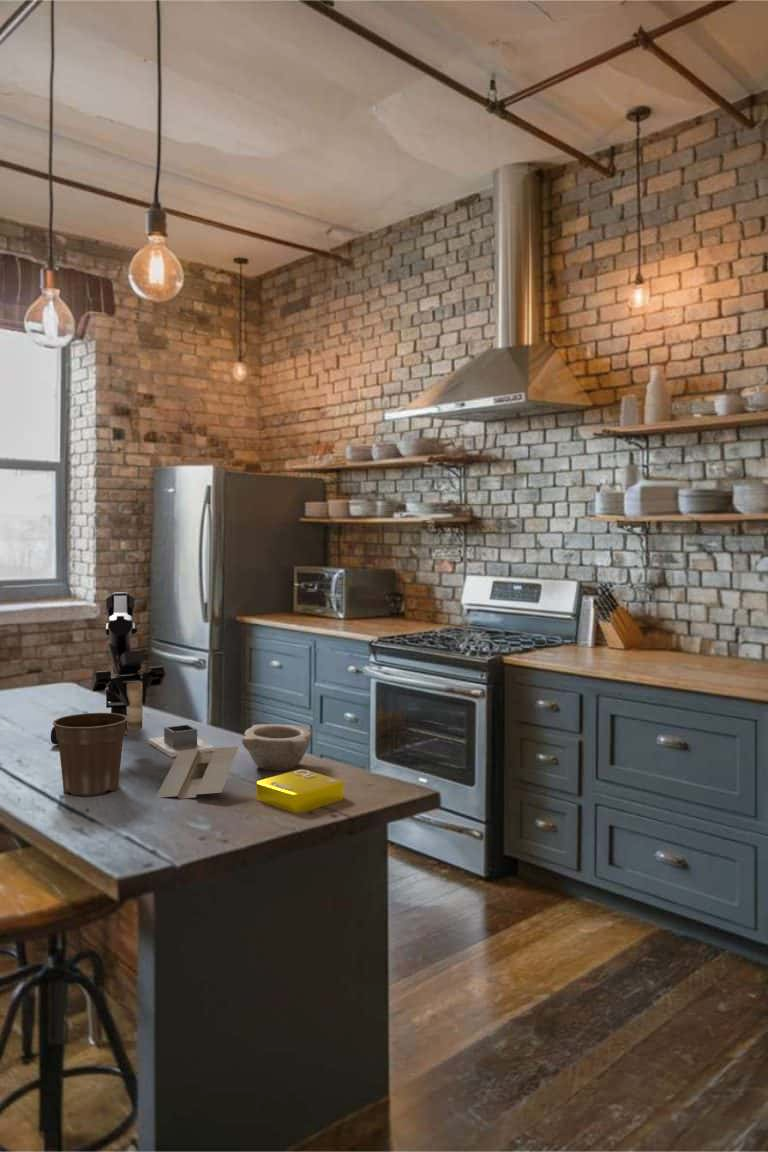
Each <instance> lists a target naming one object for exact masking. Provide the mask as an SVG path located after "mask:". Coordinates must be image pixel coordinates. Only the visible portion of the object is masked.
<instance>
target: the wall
mask: <svg viewBox="0 0 768 1152" xmlns="http://www.w3.org/2000/svg"><path fill="white" fill-rule="evenodd" d="M238 750H239V746H226V747H216V748H215V747H214V752H207V753H200V751H199V749H198V750H185V751H180V752H179V755H178V756H177V757H175V759H174V761H173V763H172V765H171V767H170V769H169V770H168V774H167V775H166V777H165V778H164V780H163V783H162V784H161V786H160V788H159V790H158V792H157V794H156V795H155V797H156V798H169V797H177V798H178V799H190V798H191V799H192V798H196V797H197V796H198V795H205V794H206V795H207V794H218V793H223V790H224V787H225V784H226V782H227V779H228V777H229V773H230V771H231V769H232V766H233V762H234V760H235V757H236V755H237V753H238Z"/></svg>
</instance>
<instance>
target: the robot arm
mask: <svg viewBox="0 0 768 1152" xmlns="http://www.w3.org/2000/svg"><path fill="white" fill-rule="evenodd" d="M135 599H136V598H135V597H133V596H131V595H130V593H129V592H124V591H123V592H122V591H121V592H119V591H117V592H112V593H111V595H110V596H109V597H106V599H105V600H106V601H105V607H106V608H105V611H106V614H108V622H106V624H105V635H106V637H108V640H109V643H108V649H109V650H108V651H109V653H110V658H111V661H112V663H113V666H112V669H113V673H112V672H111V670H100V671H97V670H96V671H95V672H94V674H93V677H92V680H91V686H90V687H91V691H92V692H95V693H96V692H104V691H105V699H106V701H105V704H106V709H110V713H116V714H122V715H125V716H127V706H129V701H128V697H127V683H129V682H142V706H145V704H146V702H147V701H146V700H147V692H148V691H147V690H148V689H149V688H150V687H156V686H157V687H158V686H161V685H162V684H163V681H164V679H165V676H166V674H167V672H166V670H165V667H164V666H161V665H160V666H159V665H158V666H149V667H148V669H147V672H139V671H141V670H142V666H141V665H142V664H143V663H144V662H148V661H149V659H150V654H149V649H148V648H140V649H139V650H133V649H132V645H131V644H132V639H133V636H135V635H136V633H138V626H137V625H136V624H135V622H133V614H135V612H136V608H135V607H136V605H135V604H136V603H135V602H136V600H135ZM107 686H108V687H107ZM125 729H127V721H126V724H125Z"/></svg>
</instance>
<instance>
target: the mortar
mask: <svg viewBox="0 0 768 1152" xmlns="http://www.w3.org/2000/svg"><path fill="white" fill-rule="evenodd" d="M312 733H313V729H312V728H311V727H310V726H305V725H294V724H281V723H278V724H277V723H275V724H274V723H266V724H265V723H264V724H263V723H261V724H254V725H251V727H249V728H247V729H246V730H245V731H244V734H243V737H242V740H241V741H242V745H243V747H244V748H245V749H246V750H247V751H248V753H249V755H250V757H251V760H252V761H253V762H254V764H255V765H256V766H257V767H258V768H260V769H263V770H265V771H274V772H276V771H277V772H279V771H280V772H281V771H287V770H291V769H294V768H295V767H297V766H298V765H299V764H300V763H301V761H302V759H303V758H304V756H305V754H306V752H307V750H308V747H309V746H310V742H311V740H312Z"/></svg>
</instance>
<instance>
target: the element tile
mask: <svg viewBox="0 0 768 1152" xmlns="http://www.w3.org/2000/svg"><path fill="white" fill-rule="evenodd" d="M344 786H345V785H344V781H343V780H342V779H340V778H335V777H332V776H329V775H324V774H321V773H317V772H314V771H311V770H307V769H296V770H292V771H289V772H285V773H281V774H277V775H274V776H271V777H270V776H269V777H265V778H263V779H260V780H257V781H256V783H255V787H256V788H255V800H256V801H258V802H261V803H264V804H267V805H269V806H273V807H276V808H279V809H282V810H284V811H285V810H286V811H287V812H290V813H296V814H297V813H299V814H300V813H305V812H309V811H312V810H315V809H317V808H320V807H325V806H326V805H328V806H329V805H331V804H333V803H336V802H340V801H342V800H344V788H345V787H344Z"/></svg>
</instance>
